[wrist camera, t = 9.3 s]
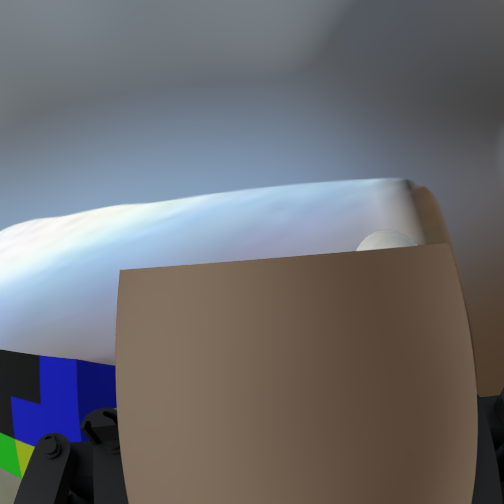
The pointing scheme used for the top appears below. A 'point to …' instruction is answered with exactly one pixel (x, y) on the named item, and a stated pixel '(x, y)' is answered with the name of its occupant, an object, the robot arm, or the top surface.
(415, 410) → the walnut block
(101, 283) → the top surface
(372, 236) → the sugar bowl
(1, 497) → the top surface
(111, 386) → the puzzle toy
